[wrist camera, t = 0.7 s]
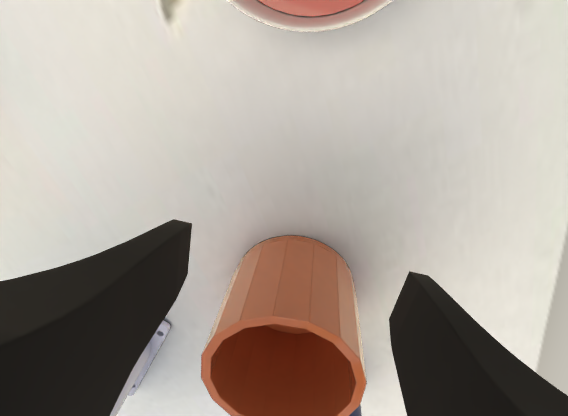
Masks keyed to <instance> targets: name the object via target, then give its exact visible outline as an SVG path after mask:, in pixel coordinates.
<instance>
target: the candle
mask: <svg viewBox="0 0 568 416" xmlns="http://www.w3.org/2000/svg"><path fill="white" fill-rule="evenodd" d="M226 1H228V2H229V3H230V4H231V5H233V6H234V7H235V8H237V9H238V10H240V11H241V12H243V13H244V14H246V15H248V16H249V17H251V18H253V19H255V20H257V21H259V22H261V23H264V24H267V25H269V26H272V27H276V28H279V29H284V30H289V31H297V32H320V31H327V30H333V29H337V28H341V27H345V26H348V25H351V24H353V23H356V22H358V21H360V20H363V19H365V18H367V17H369V16H371V15H372V14H374V13H376V12H378V11H379V10H381V9H382V8H384V7H385V6H387V5H388V4H390V3H391V2H392V1H393V0H226Z"/></svg>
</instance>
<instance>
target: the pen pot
mask: <svg viewBox="0 0 568 416" xmlns="http://www.w3.org/2000/svg"><path fill="white" fill-rule="evenodd" d="M201 378H202V381H203V382H204V384H205V386H206V388H207V390H208V392H209V394H210V396H211V398H212V399H213V400H214V401H215V402H216V403H217V404H218V405H219V406H221V407H222V408H223V409H224V410H225V411H226V412H227V413H229V414H230V415H231V416H349V415H350V414H351V413H352V412H353V411H354V410H355V409H357V408H358V407H359V405H360V403H361V400H362V397H363V393H364V390H365V387H366V384H367V383H366V382H367V381H366V373H365V365H364V356H363V348H362V340H361V331H360V323H359V314H358V306H357V298H356V291H355V287H354V281H353V277H352V274H351V271H350V269H349V267H348V265H347V264H346V262H345V261H344V259H343V258H342V257H341V256H340V255H339V254H338V253H337V252H335V251H334V250H333V249H332V248H330V247H329V246H327V245H325V244H323V243H321V242H319V241H317V240H314V239H311V238H307V237H302V236H280V237H275V238H271V239H268V240H265V241H263V242H261V243H259V244H257V245H255V246H254V247H253V248H251V249H250V250H249V251H248V252H247V253H246V254H245V255H244V256H243V258H242V259H241V261H240V263H239V265H238V267H237V269H236V271H235V272H234V274H233V277H232V279H231V282H230V284H229V287H228V289H227V292H226V295H225V297H224V300H223V302H222V305H221V307H220V310H219V312H218V315H217V317H216V320H215V322H214V325H213V327H212V330H211V332H210V335H209V337H208V340H207V342H206V345H205V347H204V350H203V353H202V355H201Z"/></svg>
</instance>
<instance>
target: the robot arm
mask: <svg viewBox="0 0 568 416" xmlns="http://www.w3.org/2000/svg"><path fill="white" fill-rule="evenodd" d="M191 228H192V223H187V222H183V221H178V220H171V221H169V222H167V223H164V224H162V225H160V226H158V227H156V228H154V229H152V230H150V231H148V232H146V233H144V234H142V235H140V236H137V237H135V238H133V239H131V240H129V241H127V242H125V243H122V244H120V245H117V246H115V247H113V248H110V249H108V250H105V251H103V252H101V253H98V254H96V255H93V256H90V257H88V258H85V259H82V260H79V261H76V262H73V263H70V264H67V265H64V266H61V267H57V268H54V269H50V270H46V271H42V272H38V273H34V274H30V275H26V276H22V277H18V278H14V279H10V280H5V281H0V416H116V415H117V413H118V411H119V410H120V408H121V406H122V404H123V402H124V401H125V399H126V397H127V395H134V394H135V392H136V390H137V388H138V386H139V385H140V383H141V381H142V379H143V377H144V376H145V374H146V372H147V370H148V368H149V366H150V365H151V363H152V361H153V359H154V357H155V356H156V354H157V352H158V350H159V348H160V347H161V345H162V343H163V341H164V339H165V338H166V336H167V334H168V332H169V330H170V328H171V327H170V325H169V323H167V322H166V321H164V318H165V316H166V315H167V313H168V312H169V310H170V308H171V307H172V305H173V304H174V302H175V300H176V298H177V296H178V294H179V292H180V290H181V288H182V285H183V283H184V281H185V279H186V276H187V274H188V262H189V251H190V240H191ZM389 323H390V336H391V346H392V352H393V356H394V361H395V365H396V370H397V374H398V378H399V382H400V387H401V391H402V395H403V399H404V404H405V408H406V412H407V416H568V396H567V395H566V394H564V393H563V392H561V391H560V390H558V389H557V388H556V387H554V386H553V385H551V384H550V383H549V382H547V381H546V380H545V379H543V378H542V377H541V376H539V375H538V374H537V373H536V372H534V371H533V370H532V369H530V368H529V367H528V366H527V365H525V364H524V363H523V362H522V361H520V360H519V359H518V358H516V357H515V356H514V355H513V354H512V353H510V352H509V351H508V350H507V349H506V348H505V347H503V346H502V345H501V344H500V343H499V342H498V341H497V340H496V339H494V338H493V337H492V336H491V335H490V334H489V333H488V332H487V331H486V330H485V329H483V328H482V327H481V326H480V325H479V324H478V323H477V322H476V321H475V320H474V319H473V318H472V317H471V316H470V315H469V314H468V313H467V312H466V311H465V310H464V309H463V308H462V307H461V306H460V305H459V304H458V303H457V302H456V301H455V300H454V299H453V298H452V297H451V296H450V295H449V294H447V293H446V292H445V291H444V290H443V289H442V288H441V287H440V286H439V285H438V284H437V283H436V282H435V281H434V280H433V279H432V278H430V277H429V276H428V275H423V274H418V273H414V272H409V274H408V276H407V278H406V281H405V283H404V285H403V288H402V290H401V292H400V295H399V297H398V300H397V302H396V304H395V307H394V309H393V311H392V314H391V316H390V318H389ZM160 331H161V332H160Z"/></svg>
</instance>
